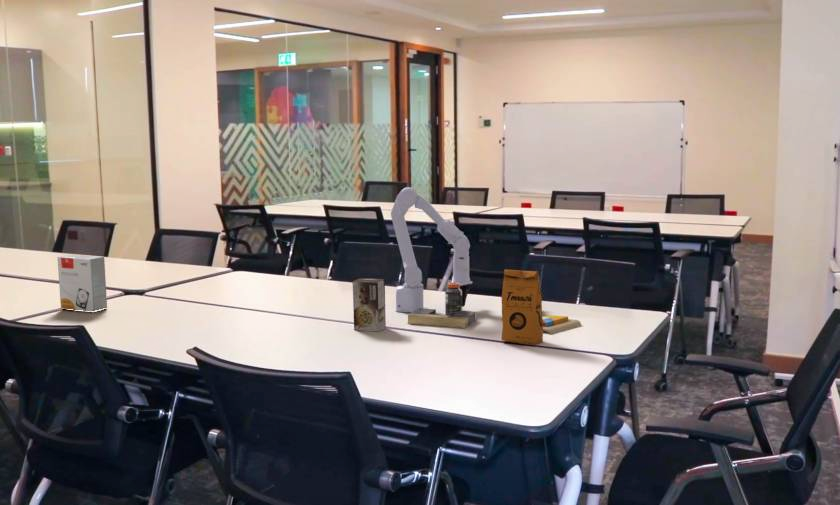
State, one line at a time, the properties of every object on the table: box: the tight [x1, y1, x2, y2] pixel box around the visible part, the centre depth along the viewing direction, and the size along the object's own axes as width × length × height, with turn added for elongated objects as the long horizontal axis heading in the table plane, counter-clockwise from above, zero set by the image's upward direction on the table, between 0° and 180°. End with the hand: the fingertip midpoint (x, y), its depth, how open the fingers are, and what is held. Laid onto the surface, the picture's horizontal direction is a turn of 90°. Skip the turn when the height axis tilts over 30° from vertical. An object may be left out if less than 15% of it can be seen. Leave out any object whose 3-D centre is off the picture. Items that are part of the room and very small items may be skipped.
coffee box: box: [351, 278, 387, 332], centre depth 260 cm, size 9×6×16 cm
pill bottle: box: [444, 282, 463, 316], centre depth 281 cm, size 6×6×11 cm
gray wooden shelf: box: [407, 308, 476, 329], centre depth 270 cm, size 20×11×3 cm, turn 69°
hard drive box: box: [57, 254, 108, 311], centre depth 294 cm, size 16×8×20 cm, turn 68°
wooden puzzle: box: [542, 313, 582, 335], centre depth 264 cm, size 18×19×4 cm
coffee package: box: [501, 269, 544, 346], centre depth 241 cm, size 10×12×22 cm
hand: (461, 306), depth 289 cm, fingers closed
